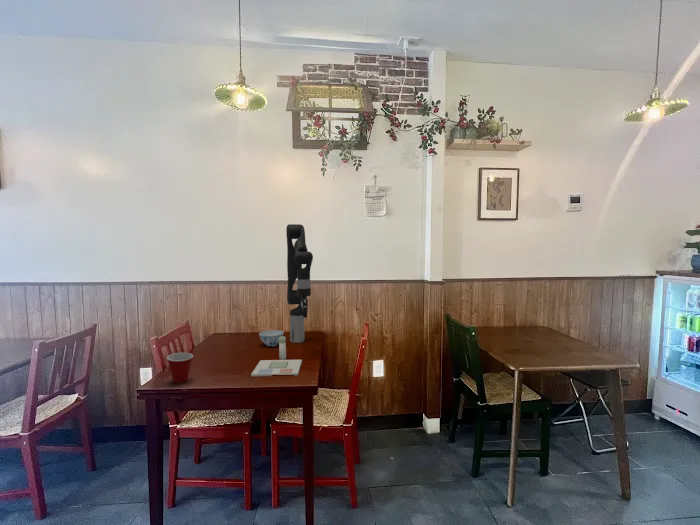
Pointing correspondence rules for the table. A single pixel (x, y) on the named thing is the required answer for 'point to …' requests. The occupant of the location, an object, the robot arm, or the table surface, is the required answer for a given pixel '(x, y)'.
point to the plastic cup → (179, 366)
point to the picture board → (277, 367)
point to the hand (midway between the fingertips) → (304, 316)
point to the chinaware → (271, 337)
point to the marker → (282, 348)
